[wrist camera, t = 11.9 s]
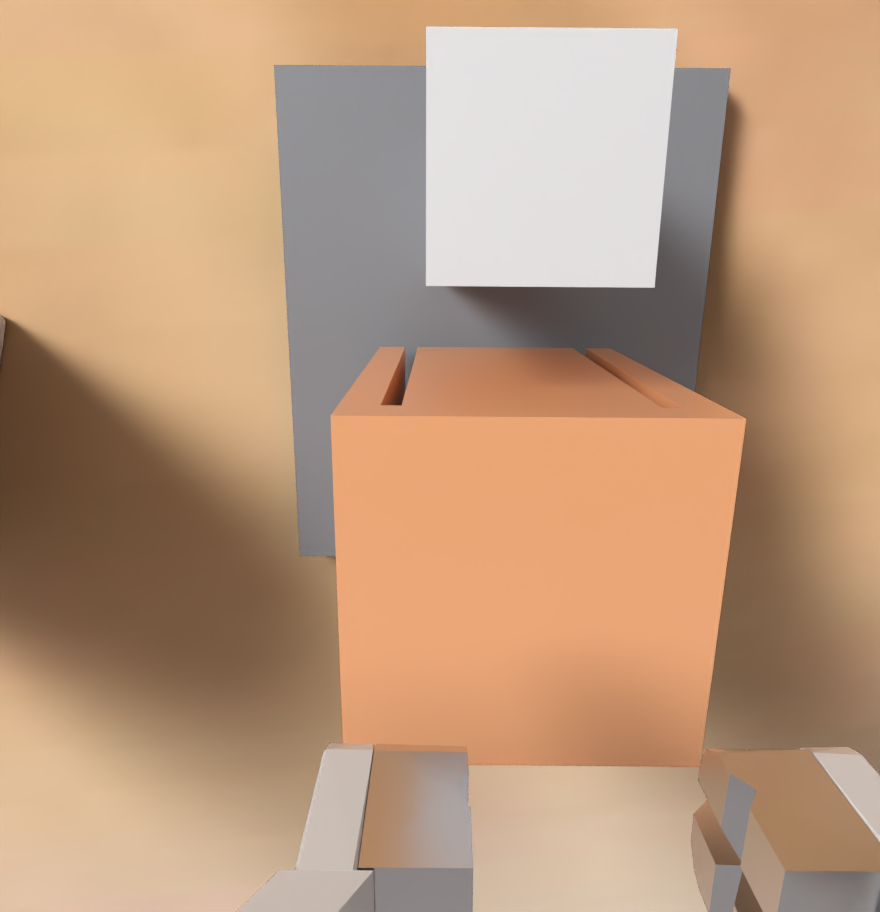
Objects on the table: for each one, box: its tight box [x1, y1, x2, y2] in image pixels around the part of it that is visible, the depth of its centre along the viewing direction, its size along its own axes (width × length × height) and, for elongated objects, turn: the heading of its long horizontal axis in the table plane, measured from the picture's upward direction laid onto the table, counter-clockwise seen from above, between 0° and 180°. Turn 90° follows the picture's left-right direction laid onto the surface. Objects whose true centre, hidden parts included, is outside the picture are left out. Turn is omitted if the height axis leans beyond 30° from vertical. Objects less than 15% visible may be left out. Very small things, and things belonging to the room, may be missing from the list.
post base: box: [274, 27, 731, 556], centre depth 16 cm, size 14×12×10 cm
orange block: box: [330, 347, 746, 767], centre depth 16 cm, size 6×6×9 cm
